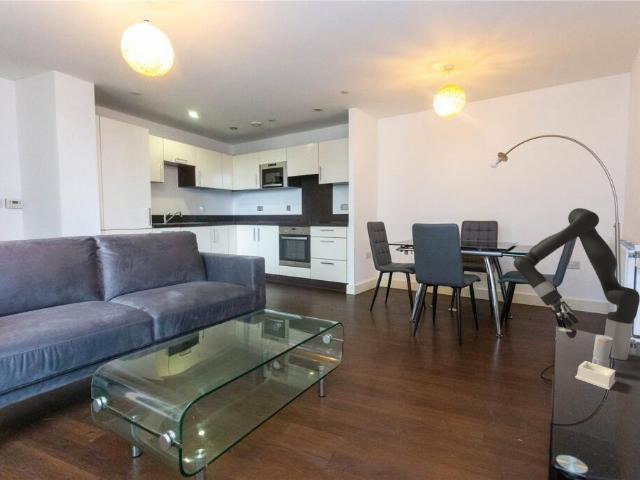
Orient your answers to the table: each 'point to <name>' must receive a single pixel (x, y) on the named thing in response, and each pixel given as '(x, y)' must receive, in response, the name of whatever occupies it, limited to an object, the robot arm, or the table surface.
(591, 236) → the robot arm
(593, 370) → the can holder
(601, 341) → the beverage can
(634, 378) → the table surface
